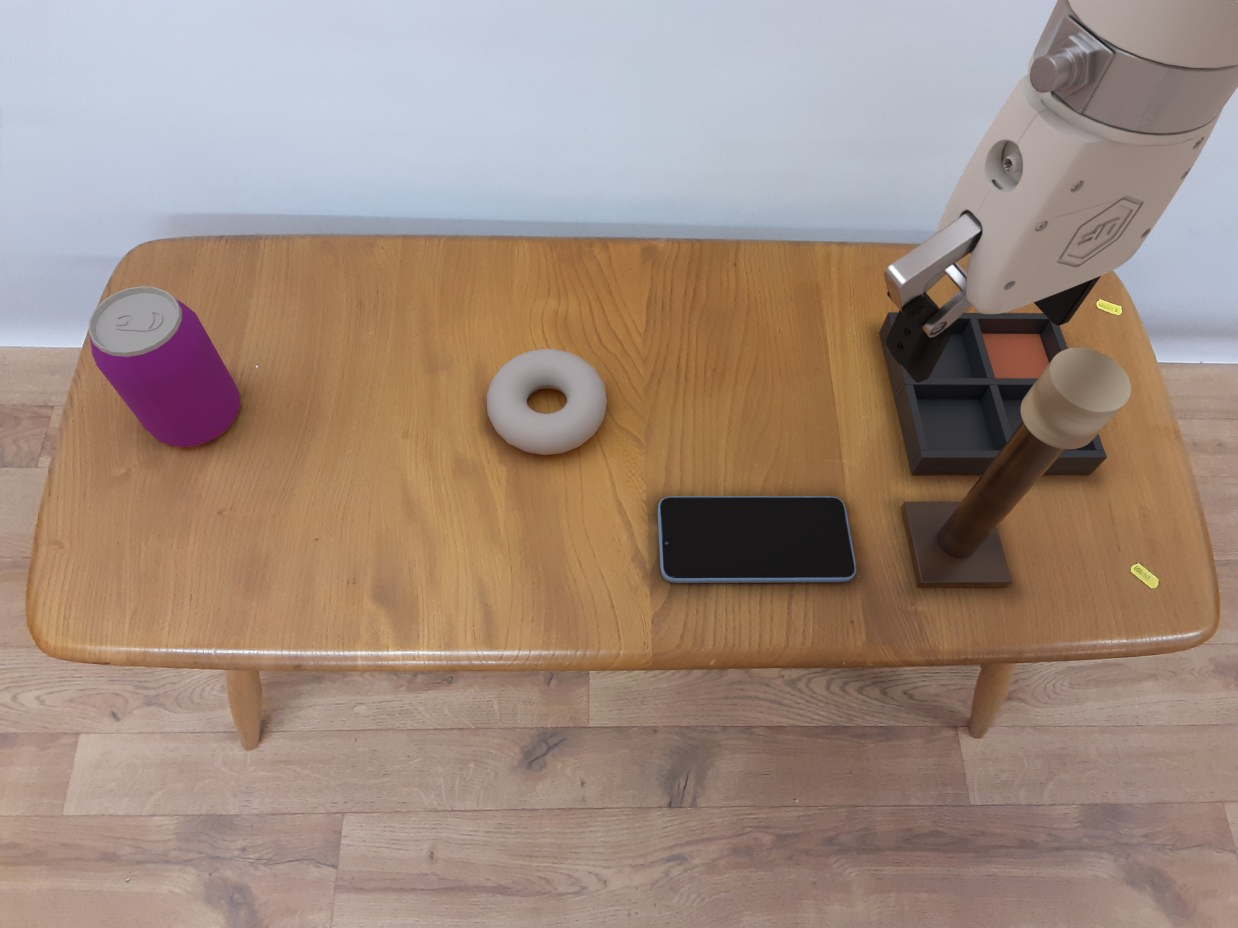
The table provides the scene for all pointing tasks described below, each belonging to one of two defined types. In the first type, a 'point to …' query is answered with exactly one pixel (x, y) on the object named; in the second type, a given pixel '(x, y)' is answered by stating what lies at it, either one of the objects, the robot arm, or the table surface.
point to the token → (1075, 398)
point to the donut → (552, 428)
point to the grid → (978, 395)
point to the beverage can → (163, 366)
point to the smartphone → (754, 539)
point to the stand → (975, 519)
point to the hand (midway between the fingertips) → (976, 334)
